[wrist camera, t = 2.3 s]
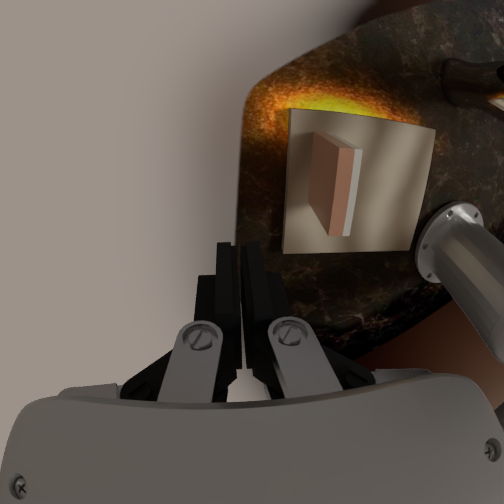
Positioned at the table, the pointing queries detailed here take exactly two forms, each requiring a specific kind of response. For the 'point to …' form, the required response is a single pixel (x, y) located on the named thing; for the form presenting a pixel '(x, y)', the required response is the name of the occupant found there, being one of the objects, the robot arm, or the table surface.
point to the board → (369, 185)
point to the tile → (334, 182)
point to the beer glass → (475, 85)
